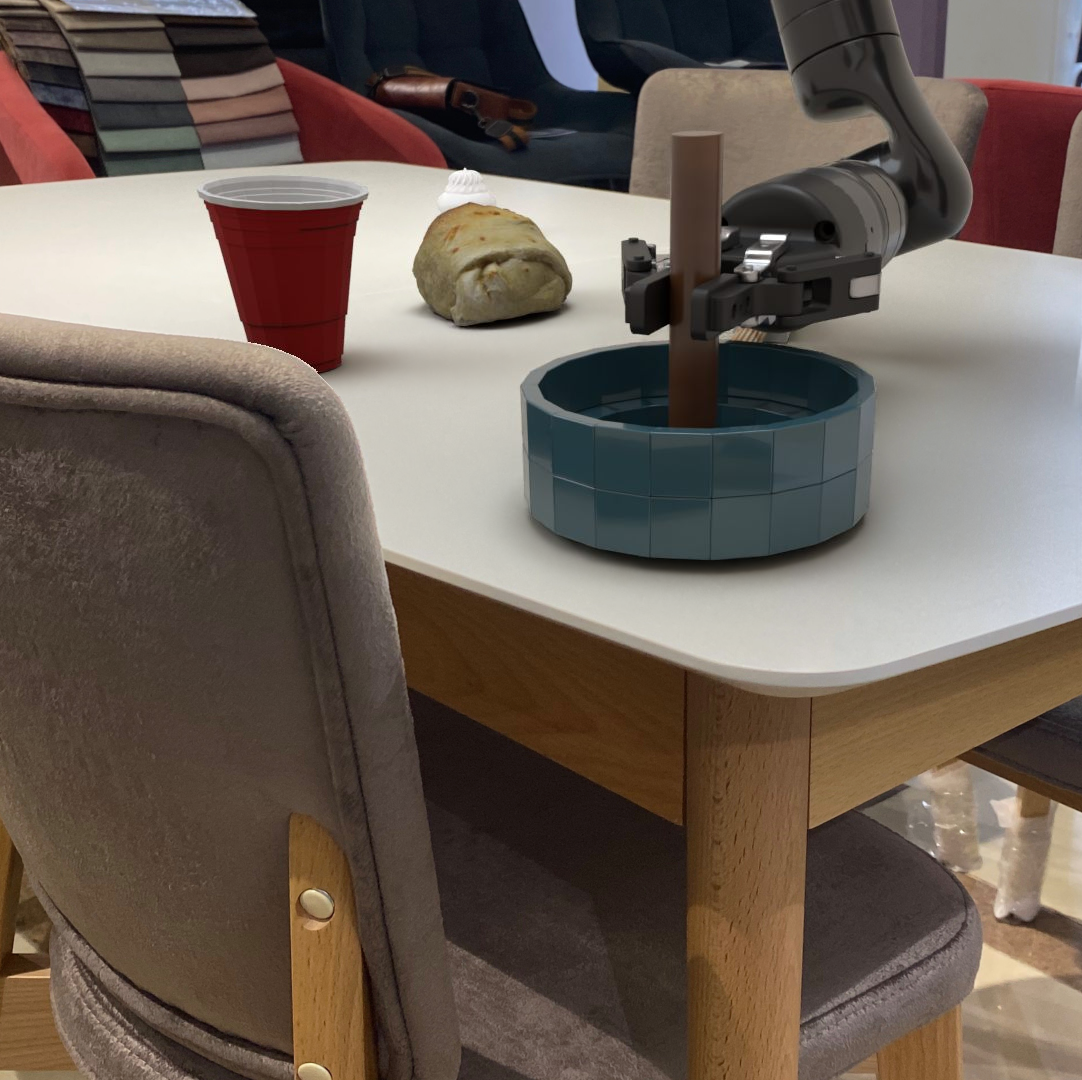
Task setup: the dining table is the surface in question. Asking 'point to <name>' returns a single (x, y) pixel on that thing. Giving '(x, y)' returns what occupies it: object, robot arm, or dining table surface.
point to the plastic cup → (288, 258)
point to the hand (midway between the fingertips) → (668, 313)
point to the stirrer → (693, 273)
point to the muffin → (465, 191)
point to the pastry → (489, 266)
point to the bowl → (698, 452)
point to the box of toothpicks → (757, 335)
